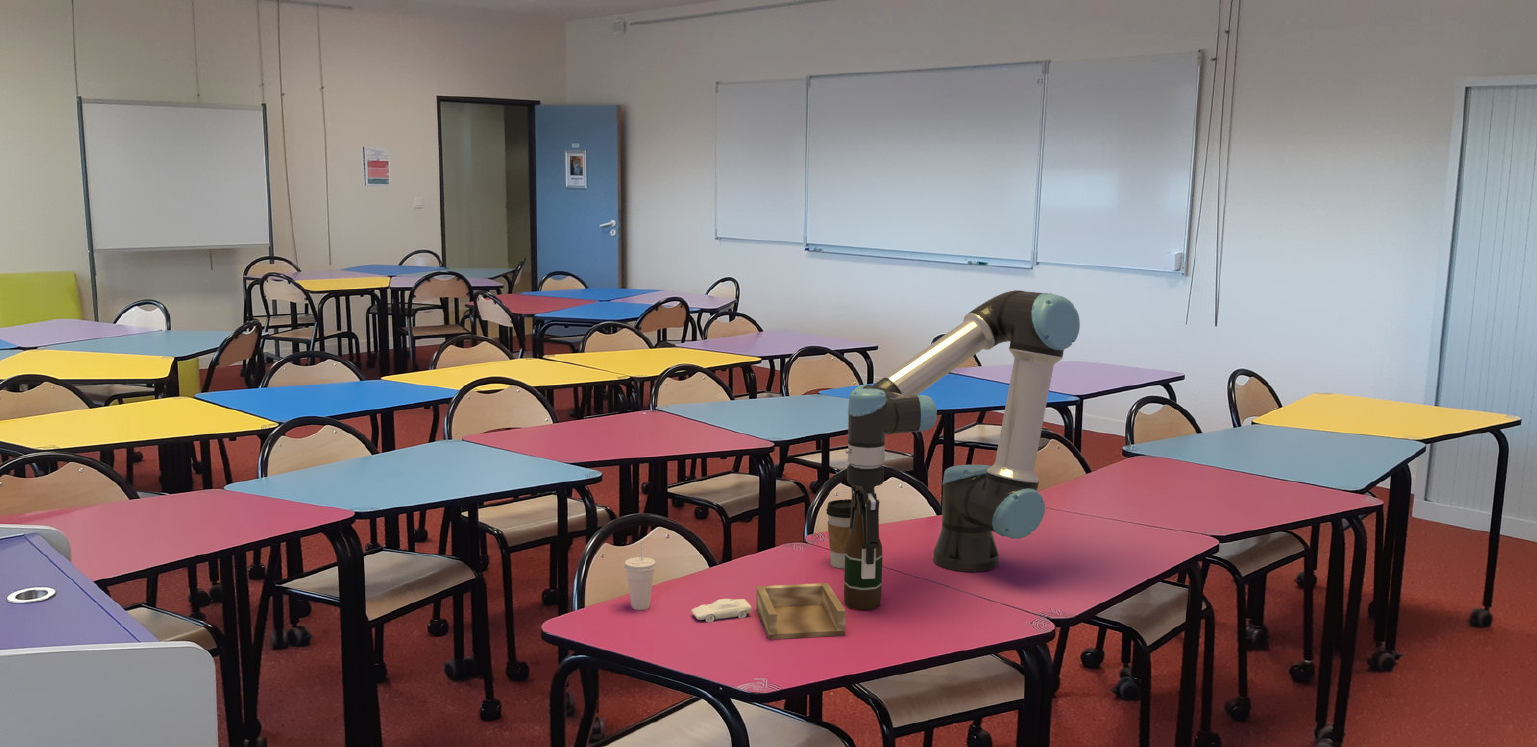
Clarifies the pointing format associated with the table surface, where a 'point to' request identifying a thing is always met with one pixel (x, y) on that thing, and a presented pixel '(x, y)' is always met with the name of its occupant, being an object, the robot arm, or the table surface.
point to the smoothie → (640, 580)
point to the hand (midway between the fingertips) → (863, 571)
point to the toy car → (722, 609)
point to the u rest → (800, 611)
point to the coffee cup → (838, 530)
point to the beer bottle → (855, 588)
